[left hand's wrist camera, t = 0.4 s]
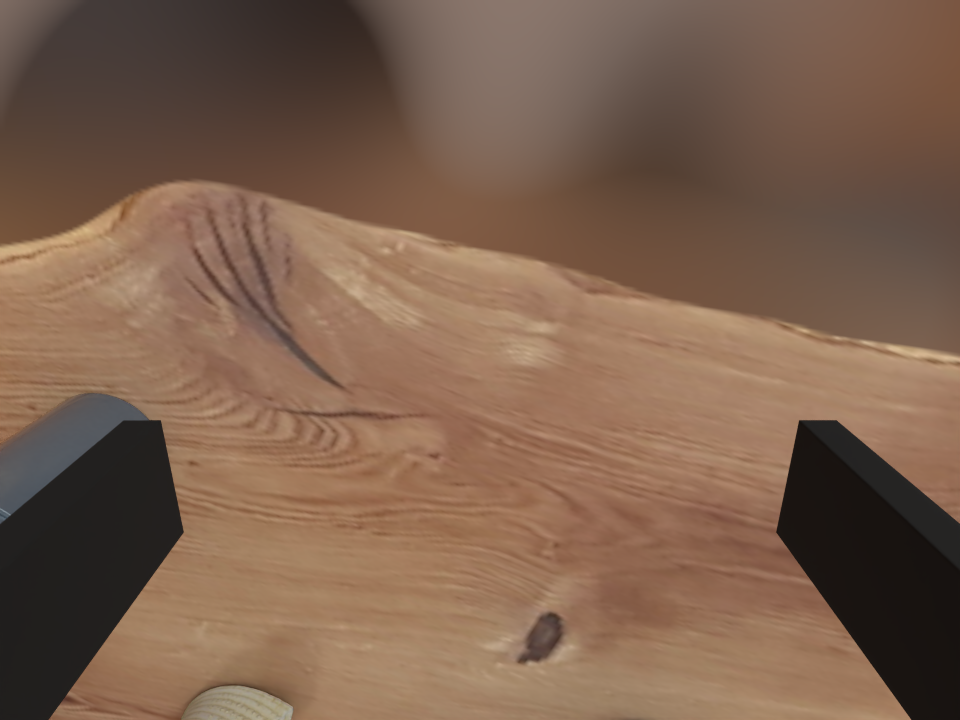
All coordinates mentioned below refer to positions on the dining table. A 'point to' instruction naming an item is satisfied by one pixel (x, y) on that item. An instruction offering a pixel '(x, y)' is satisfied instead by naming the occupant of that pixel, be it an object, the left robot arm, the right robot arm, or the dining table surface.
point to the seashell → (237, 705)
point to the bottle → (56, 444)
